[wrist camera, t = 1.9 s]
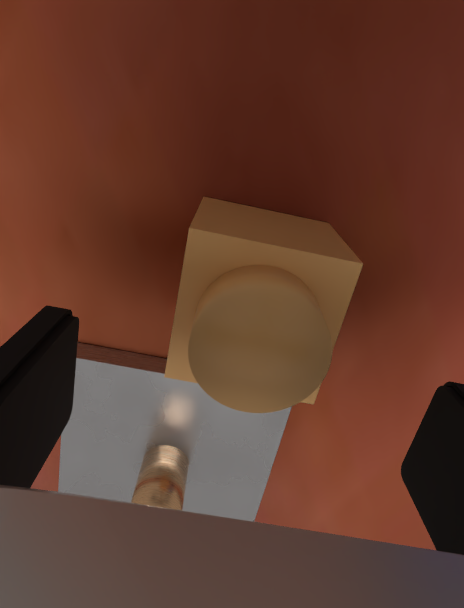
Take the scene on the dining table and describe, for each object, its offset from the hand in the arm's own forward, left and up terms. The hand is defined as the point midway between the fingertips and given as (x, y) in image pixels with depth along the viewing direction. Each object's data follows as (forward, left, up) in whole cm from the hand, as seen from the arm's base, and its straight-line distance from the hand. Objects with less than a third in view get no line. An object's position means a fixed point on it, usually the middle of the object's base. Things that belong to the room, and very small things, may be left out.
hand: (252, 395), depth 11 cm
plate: (+9, -2, -8) cm, 12 cm away
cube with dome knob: (-1, 0, -8) cm, 8 cm away
